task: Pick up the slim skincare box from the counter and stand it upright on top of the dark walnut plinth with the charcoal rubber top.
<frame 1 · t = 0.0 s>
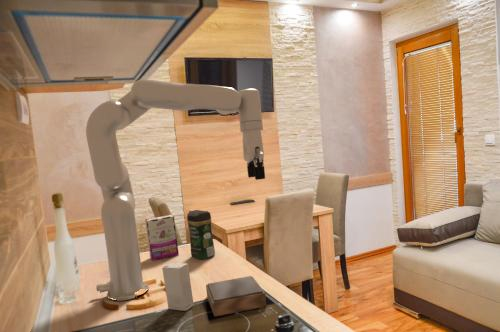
hand: (256, 178, 133), 31 cm above the kitchen counter, tool pointing down, fingers open, 9 cm apart
candy bar box: (164, 257, 163), on the kitchen counter
coffee jar: (203, 257, 157), on the kitchen counter
skincare box: (180, 308, 110), on the kitchen counter
walnut plinth: (235, 301, 111), on the kitchen counter
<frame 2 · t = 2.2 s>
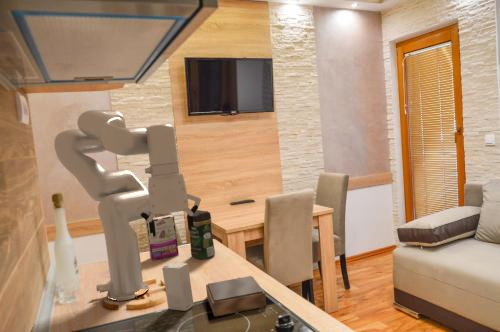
hand: (172, 232, 108), 21 cm above the kitchen counter, tool pointing down, fingers open, 9 cm apart
nothing on the kitchen counter moved.
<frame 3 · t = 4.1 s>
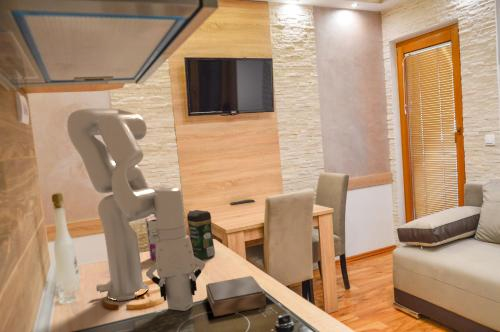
hand: (179, 295, 110), 3 cm above the kitchen counter, tool pointing down, fingers closed on skincare box, 7 cm apart
skincare box: (180, 308, 110), on the kitchen counter, touching gripper
everything else where it was.
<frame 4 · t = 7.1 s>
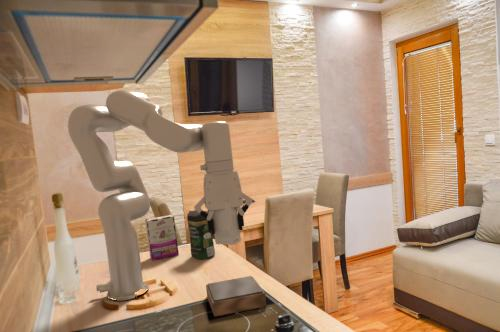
hand: (226, 231, 109), 20 cm above the kitchen counter, tool pointing down, fingers closed on skincare box, 7 cm apart
skincare box: (227, 243, 109), point 16 cm above the kitchen counter, touching gripper
everything else where it was.
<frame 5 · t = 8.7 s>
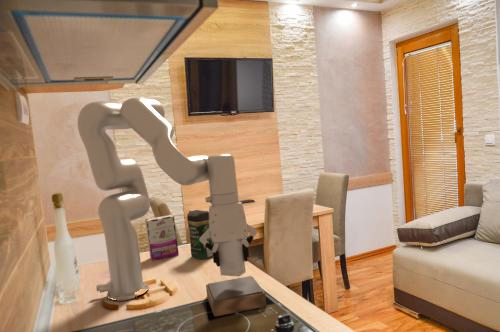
hand: (231, 262, 110), 11 cm above the kitchen counter, tool pointing down, fingers closed on skincare box, 7 cm apart
skincare box: (232, 274, 110), point 8 cm above the kitchen counter, touching gripper
everything else where it was.
when the fingers open (9 cm above the kitchen counter, at t = 10.2 s): skincare box drops 1 cm, resting on walnut plinth.
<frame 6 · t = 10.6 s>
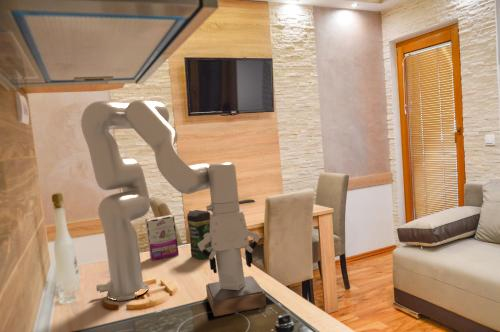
hand: (232, 268, 110), 9 cm above the kitchen counter, tool pointing down, fingers open, 9 cm apart
skincare box: (232, 288, 110), point 4 cm above the kitchen counter, touching walnut plinth
everything else where it was.
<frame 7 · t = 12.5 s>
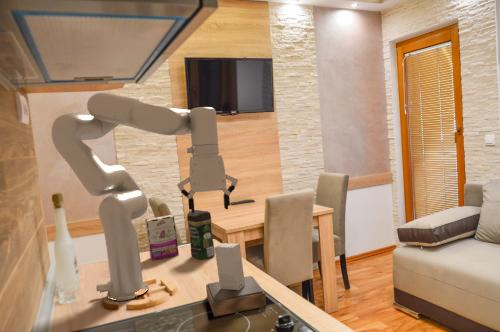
hand: (209, 210, 115), 25 cm above the kitchen counter, tool pointing down, fingers open, 9 cm apart
nothing on the kitchen counter moved.
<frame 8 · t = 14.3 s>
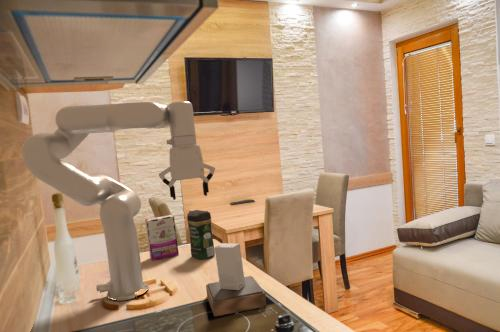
hand: (190, 197, 123), 28 cm above the kitchen counter, tool pointing down, fingers open, 9 cm apart
nothing on the kitchen counter moved.
at the end: skincare box inside the target area on the walnut plinth (0.5 cm from its centre), point 3.8 cm above the walnut plinth's base; skincare box tilted 0°; the gripper is holding nothing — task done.
